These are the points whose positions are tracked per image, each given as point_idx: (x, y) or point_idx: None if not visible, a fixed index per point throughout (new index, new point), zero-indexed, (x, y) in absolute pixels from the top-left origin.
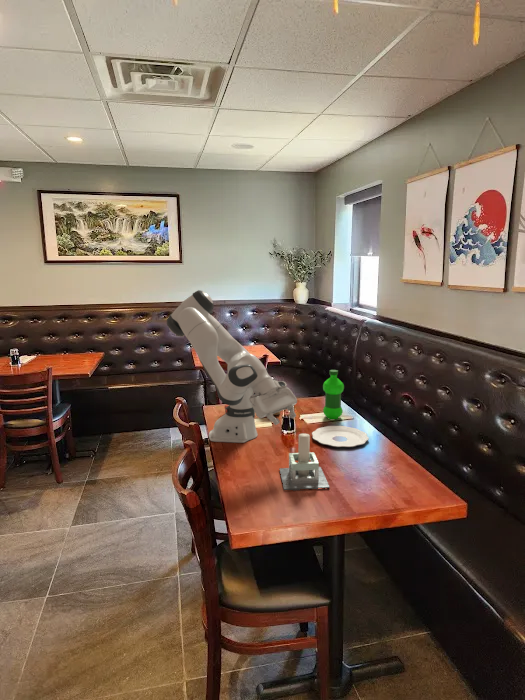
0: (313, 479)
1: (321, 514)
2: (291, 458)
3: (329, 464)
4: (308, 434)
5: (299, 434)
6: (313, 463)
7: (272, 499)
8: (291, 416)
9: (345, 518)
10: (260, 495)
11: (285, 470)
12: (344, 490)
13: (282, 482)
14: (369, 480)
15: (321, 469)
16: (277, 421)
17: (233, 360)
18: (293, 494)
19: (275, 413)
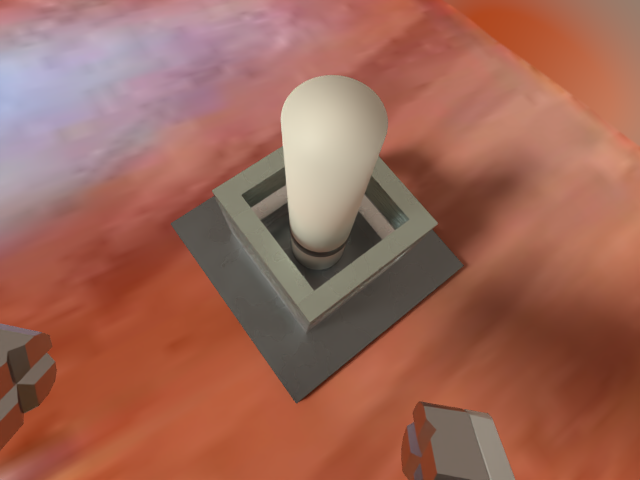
0: None
1: (506, 86)
2: (375, 265)
3: (104, 212)
4: (287, 100)
5: (335, 165)
6: None
7: (546, 272)
8: (26, 392)
9: (475, 24)
10: (557, 335)
11: (301, 358)
12: None
13: (413, 306)
14: (184, 32)
15: (196, 209)
16: (477, 424)
17: None
18: (458, 221)
19: None
